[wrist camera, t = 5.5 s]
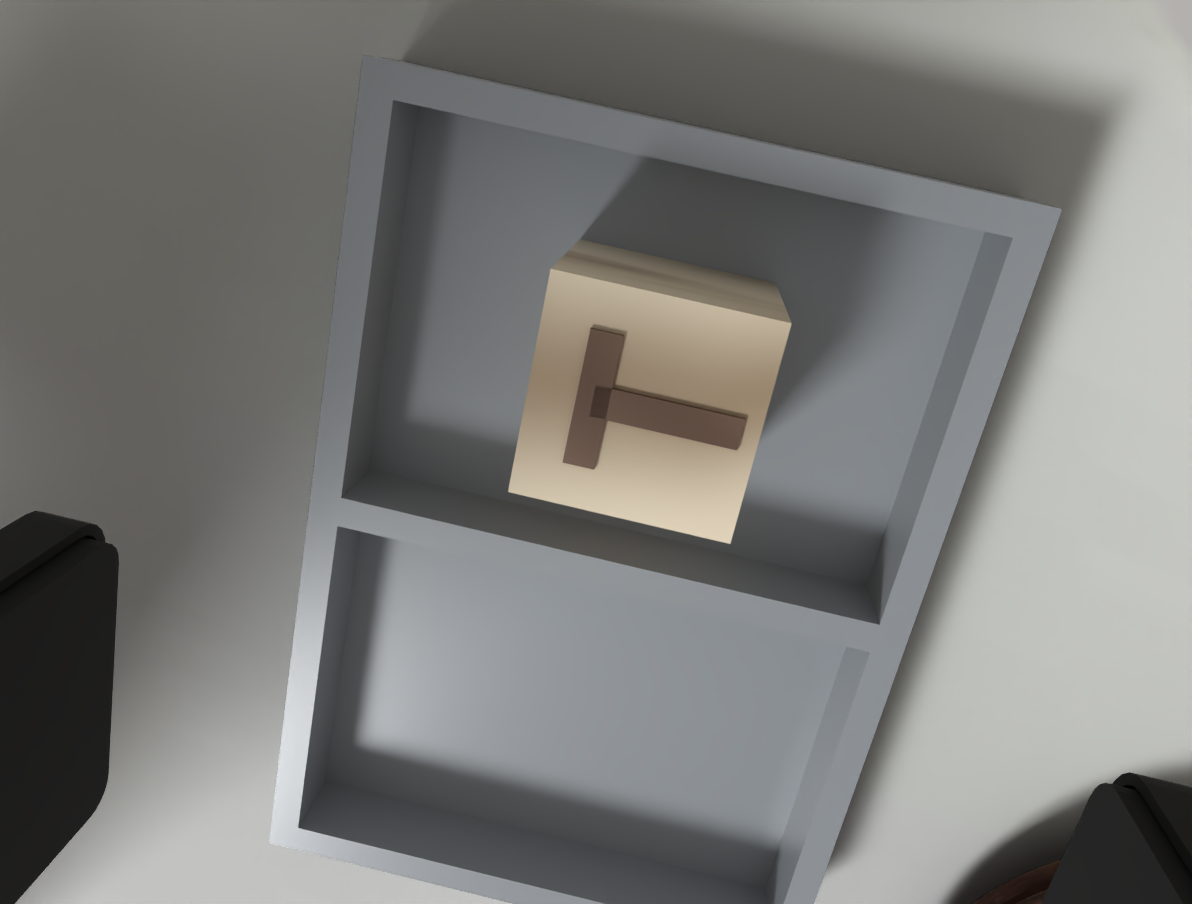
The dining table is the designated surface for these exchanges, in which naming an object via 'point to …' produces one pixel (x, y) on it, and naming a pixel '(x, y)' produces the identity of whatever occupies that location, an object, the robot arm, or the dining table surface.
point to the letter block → (649, 389)
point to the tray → (609, 544)
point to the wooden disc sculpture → (1023, 887)
